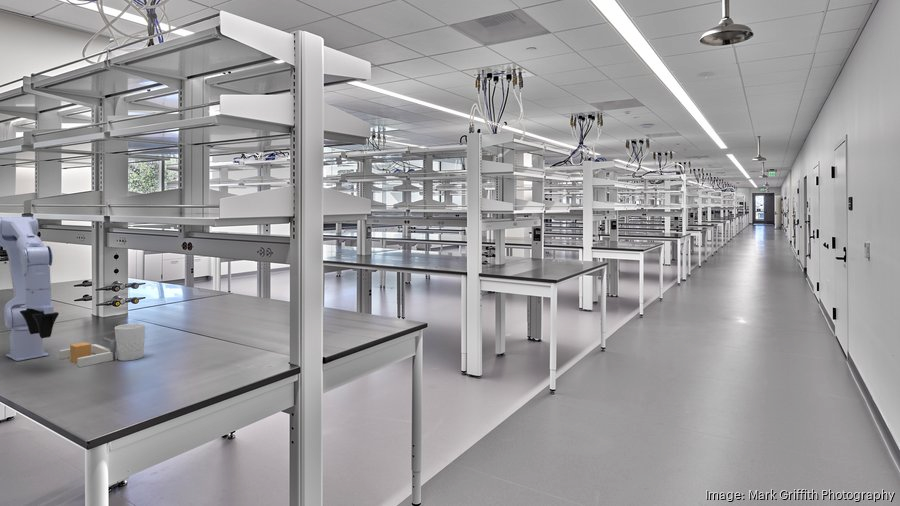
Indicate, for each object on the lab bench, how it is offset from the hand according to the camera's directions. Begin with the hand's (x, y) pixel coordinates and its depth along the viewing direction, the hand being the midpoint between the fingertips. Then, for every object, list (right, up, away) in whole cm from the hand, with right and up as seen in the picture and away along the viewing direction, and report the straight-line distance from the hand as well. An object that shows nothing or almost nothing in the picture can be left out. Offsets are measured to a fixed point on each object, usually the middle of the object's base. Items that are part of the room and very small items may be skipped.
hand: (40, 335), depth 144 cm
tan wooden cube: (+6, -9, +8) cm, 13 cm away
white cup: (+19, -9, +12) cm, 24 cm away
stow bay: (+6, -9, +9) cm, 14 cm away
